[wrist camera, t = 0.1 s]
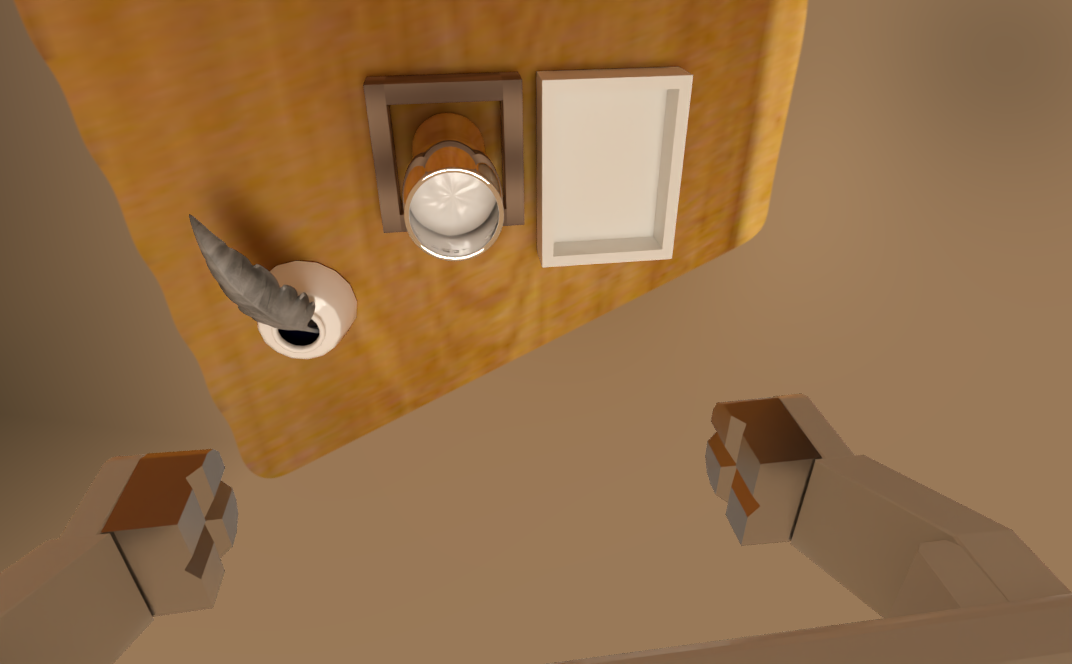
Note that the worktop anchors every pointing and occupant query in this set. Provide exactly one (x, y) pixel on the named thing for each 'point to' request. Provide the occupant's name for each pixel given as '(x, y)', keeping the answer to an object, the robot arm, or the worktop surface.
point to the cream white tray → (609, 163)
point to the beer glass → (451, 190)
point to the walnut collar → (444, 91)
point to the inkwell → (283, 298)
